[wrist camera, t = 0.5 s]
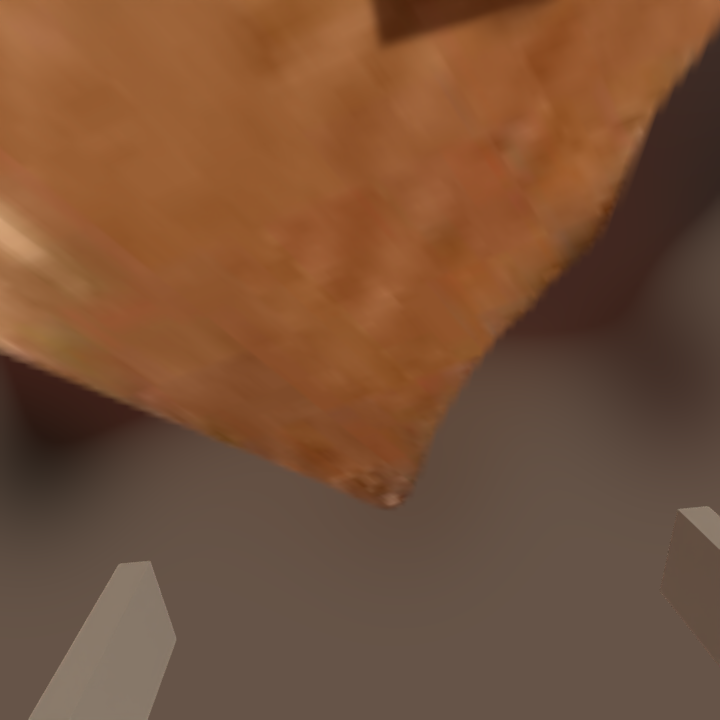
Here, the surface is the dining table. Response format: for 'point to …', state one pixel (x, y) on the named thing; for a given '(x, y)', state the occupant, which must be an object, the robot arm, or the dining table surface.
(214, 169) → the dining table surface
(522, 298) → the dining table surface
